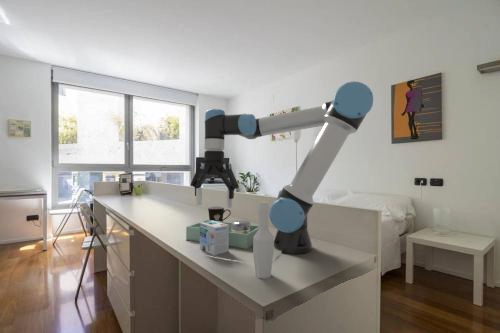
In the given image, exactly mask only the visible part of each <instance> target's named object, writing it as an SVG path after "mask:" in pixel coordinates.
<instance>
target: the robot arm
mask: <svg viewBox="0 0 500 333" xmlns="http://www.w3.org/2000/svg"><path fill="white" fill-rule="evenodd" d="M373 104H374V95H373V91H372V90H371V88H370V87H369V86H368V85H366V84H365V83H363V82H359V81H348V82H345V83H344V84H342V85H341V86H339V87H338V88H337V89H336V91H335V92H334V94H333V97H332V100H331V101H327V102H324V103H323V104H322V105H320V106H316V107H315V106H314V107H310V108H305V109H299V110H295V111H289V112H283V113H279V114H278V113H277V114H275V115H269V116H265V117H259V118H256V117H255V115H254V114H252V113H250V114H249V113H248V114H247V113H242V114H241V113H240V114H226V111H225V110H223V109H218V108H217V109H216V108H210V109H208V110H206V111H205V115H204V150H205V151H204V153H203V154H204V158H203V159H204V162H198V163H197V166H196V170H195V173H194V176H193V177H192V180H191V182H190V187H193V188H194V196H195V205H196V206H200V205H202V204H203V188H202V186H203V184H204V183H205V181H206V180H207V178H209V176H218V177H219V178H220V179H221V181H222V182H223V183H224V185H225V186H226V188H227V189H226V197H225V198H226V203H225V204H226V206H225V207H226V209H230V208H232V205H233V202H232V200H233V199H234V196H235V190H236V189H239V187H240V186H239V184H238V180H237V179H236V177H235V173H234V172H233V170H232V163H228V162H227V163H224V161H225V152H224V150H225V136H239V137H243V138H246V140H247V139H248V140H255V139H257V138H260V137H265V136H270V135H271V136H272V135H276V134H282V133H289V132H294V131H300V130H307V129H311V128H312V129H313V128H319V127H321V129H320V131H319V133H318V134H317V137H316V138H315V139H314V142H313V143H312V145H311V147H310V149H309V151H308V152H307V154H306V156H305V157H304V159H303V161H302V163H301V165H300V166H299V168H298V170H297V172H296V173H295V175H294V177H293V178H292V180H291V182H290V183H289V184H287V185H284V186H283V188H281V190H279V191H278V194H277V198H276V200H274V201H273V202H272V203H271V205H270V207H269V216H268V217H269V221H270V222H271V224H272V226H273V227H274V228H275V229H277V231H276V233H275V236H274V241H273V249H276V250H278V251H281V253H285V254H293V255H298V254H299V255H301V254H306V253H310V252H311V251H312V248H313V243H312V239H311V237H310V234H309V231H308V230H309V229H308V216H309V212H310V211H311V209H312V208H313V205H314V203H315V202H314V199H313V198H314V197H313V196H314V195H315V193H316V192H317V190H318V188H319V187H320V184H321V183H322V181H323V179H324V177H325V176H326V174H327V173H328V171H329V170H330V167H331V166H332V164H333V162H334V161H335V159H336V157H337V156H338V154H339V152H340V151H341V149H342V147H343V145H344V144H345V142H346V140H347V138H348V137H349V135H352V134H355V133H357V131H358V129H359V127H361V125H362V124H363V123H362V122H364V119H365V117H366V116H367V114H368V113H369V112H370V111H371V109H372V107H373ZM224 169H225V171H224Z"/></svg>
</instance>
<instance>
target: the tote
mask: <svg viewBox="0 0 500 333" xmlns="http://www.w3.org/2000/svg"><path fill="white" fill-rule="evenodd" d="M207 221H212V220H209V219H205V220H202V221H200V222H196V223H194V224H193V223H192V224H190V225H187V226H186V230H185V231H186V232H185V234H186V237H185V238H186V239H185V240H186V241H189V242H190V241H195V242H200V223H201V222H207ZM217 222H220V223H224V224H227V225H229V247H233V248H239V249H249V248H250V247H253V238H254V235H255V234H256V233H257V231H258V230H259V225H253V224H250V232H249V233H247V234H242V233H235V232H231V222H228V221H223V222H221V221H217Z"/></svg>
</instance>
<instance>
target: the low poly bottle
mask: <svg viewBox="0 0 500 333" xmlns="http://www.w3.org/2000/svg"><path fill="white" fill-rule="evenodd" d="M269 206H270V205H269V203H268V201H259V205H258V207H257V208H258V209H257V211H258V226H259V230H258V231H257V233H256V234H255V235H254V238H253V245H252V249H253V250H252V252H253V265H254V271H255V272H254V273H255V277H256V278H258V279H269V278H271V276H272V266H273V259H274V239H275V236H273V234H272V233H271V231H270V230H269V217H270V216H269V212H270V207H269Z"/></svg>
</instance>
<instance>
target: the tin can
mask: <svg viewBox="0 0 500 333" xmlns="http://www.w3.org/2000/svg"><path fill="white" fill-rule="evenodd" d="M230 223H231V232H235V233H242V234H247V233H249V232H250V225H251V222H250V221H249V220H244V219H243V220H242V219H240V220H239V219H238V220H233V221H231V222H230Z"/></svg>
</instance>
